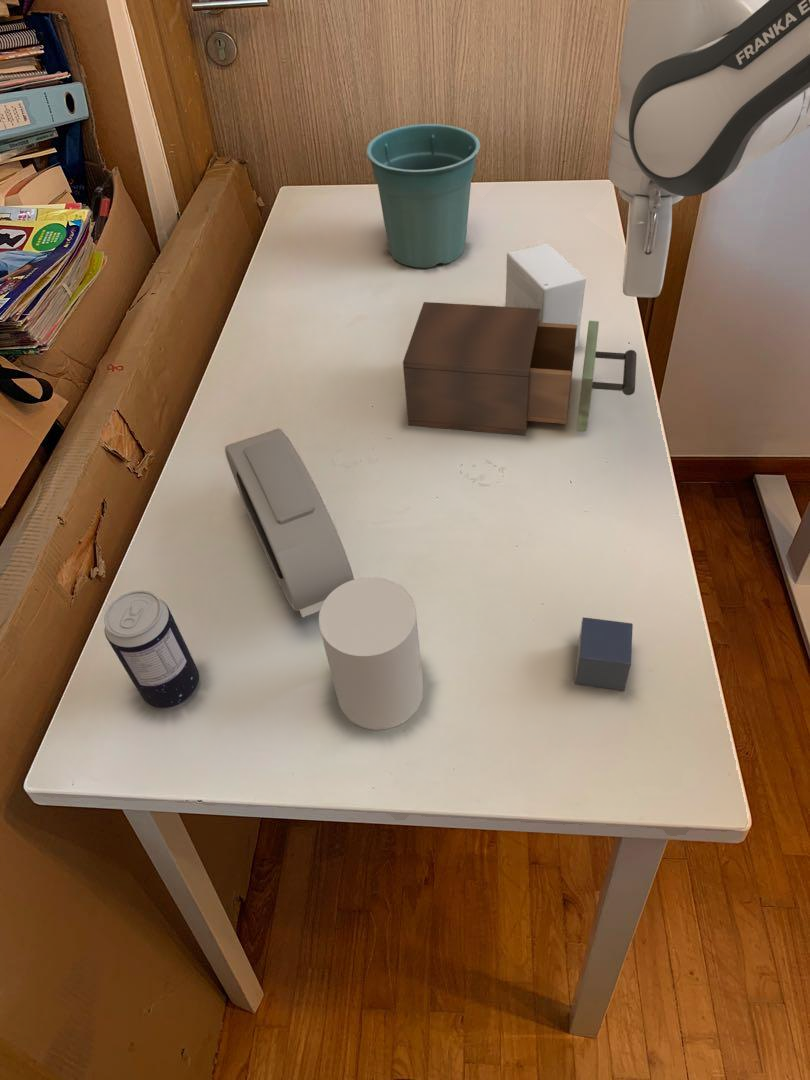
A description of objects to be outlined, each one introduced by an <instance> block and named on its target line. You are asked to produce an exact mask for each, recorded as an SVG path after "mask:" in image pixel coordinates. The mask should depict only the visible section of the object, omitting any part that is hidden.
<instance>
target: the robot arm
mask: <svg viewBox="0 0 810 1080" xmlns="http://www.w3.org/2000/svg"><path fill="white" fill-rule="evenodd" d="M627 10H628V11H627V15H626V20H625V26H624V30H623V36H622V45H621V52H620V59H619V60H620V61H619V68H618V69H619V70H618V81H619V88H620V100H619V104H618V108H617V111H616V112H615V116H614V119H613V123H612V124H613V125H612V132H611V133H612V134H611V141H610V150H609V151H610V152H609V153H610V154H609V161H608V170H607V176H608V179H609V181H610V183H611V184H612V185H614V186H615V187H616V188H618V193H619V196H620V198H622V199H623V200H624V201H625V202H627V203H628V213H627V224H626V225H627V227H626V238H625V240H626V241H625V251H624V262H623V275H622V293H623V295H624V296H626V297H634V298H657V297H659V296H660V295H661V292H662V290H663V285H664V280H665V275H666V274H665V273H666V269H667V262H668V257H669V250H670V242H671V236H672V226H673V205H675V204H677V203H678V202H680V201H682V200H683V199H684V198H685V197H694V196H696V197H697V196H700V195H702V194H705V193H707V192H709V191H710V190H712V189H713V188H714V187H716V186H717V185H719V184H720V183H722V182H723V181H724V180H725V179H727V178H729V177H730V176H731V175H732V174H733V173H735V172H736V171H738V170H740V169H742V168H743V167H744V166H746V165H748V164H750V163H751V162H753V161H755V160H756V159H757V160H758V158H760V157H762V156H764V155H765V154H767V153H769V152H770V151H772V150H774V149H775V148H777V147H779V146H781V145H782V144H784V143H786V142H787V141H789V140H791V139H792V138H794V137H796V136H797V135H799V134H801V133H802V132H803V131H804V130H806V129H808V128H809V127H810V0H630V3H629V6H628V9H627Z"/></svg>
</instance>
